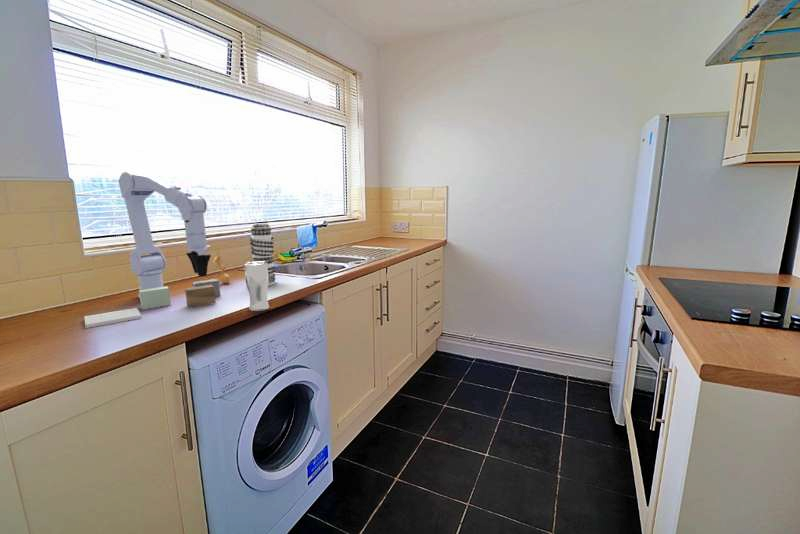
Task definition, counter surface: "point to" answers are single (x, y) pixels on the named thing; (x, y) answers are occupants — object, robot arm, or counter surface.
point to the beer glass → (257, 285)
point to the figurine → (222, 270)
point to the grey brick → (209, 282)
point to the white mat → (111, 317)
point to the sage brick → (154, 297)
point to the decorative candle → (263, 248)
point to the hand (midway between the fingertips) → (200, 274)
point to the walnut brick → (200, 296)
